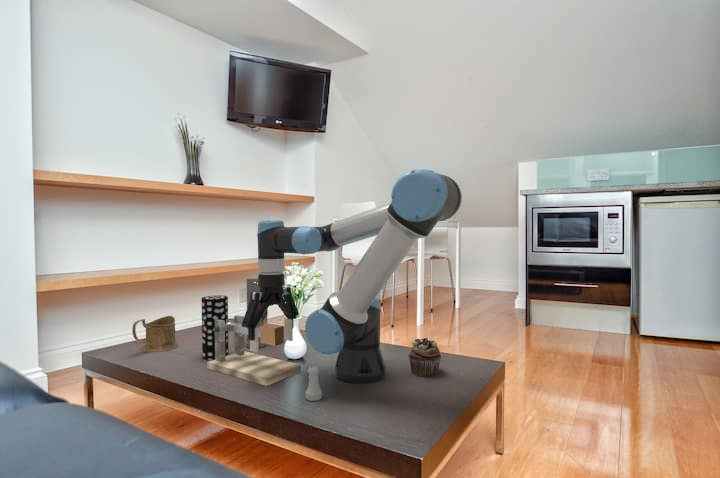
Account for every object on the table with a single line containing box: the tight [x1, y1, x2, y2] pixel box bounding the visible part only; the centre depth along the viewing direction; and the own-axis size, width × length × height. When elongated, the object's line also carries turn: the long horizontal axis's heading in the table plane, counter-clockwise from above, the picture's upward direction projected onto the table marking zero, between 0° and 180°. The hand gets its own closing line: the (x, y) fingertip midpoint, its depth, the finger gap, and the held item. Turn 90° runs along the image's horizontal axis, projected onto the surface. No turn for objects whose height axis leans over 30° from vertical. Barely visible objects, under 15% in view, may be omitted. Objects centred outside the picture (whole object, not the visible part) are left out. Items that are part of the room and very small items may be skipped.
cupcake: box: [408, 337, 442, 378], centre depth 126 cm, size 10×10×10 cm
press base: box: [206, 315, 302, 387], centre depth 128 cm, size 26×14×14 cm, turn 56°
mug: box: [131, 315, 179, 353], centre depth 150 cm, size 12×18×12 cm, turn 162°
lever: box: [225, 321, 285, 347], centre depth 128 cm, size 24×4×5 cm, turn 56°
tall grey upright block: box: [246, 274, 269, 349], centre depth 159 cm, size 14×6×25 cm, turn 4°
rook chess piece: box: [304, 364, 324, 402], centre depth 107 cm, size 4×4×8 cm
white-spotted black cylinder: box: [201, 294, 230, 361], centre depth 142 cm, size 8×8×20 cm
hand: (272, 345), depth 124 cm, fingers open, 13 cm apart
